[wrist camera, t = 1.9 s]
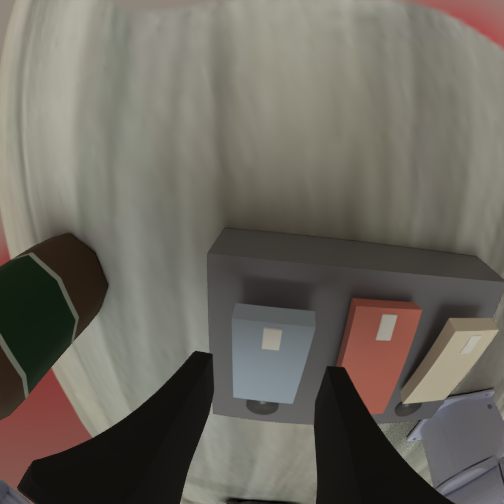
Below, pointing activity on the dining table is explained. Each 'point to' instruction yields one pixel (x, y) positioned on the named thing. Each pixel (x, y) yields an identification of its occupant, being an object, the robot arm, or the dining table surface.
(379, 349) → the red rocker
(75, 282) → the beer bottle
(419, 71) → the dining table surface
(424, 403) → the rocker switch panel
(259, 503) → the perforated stone tool
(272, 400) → the slate rocker
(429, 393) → the block
